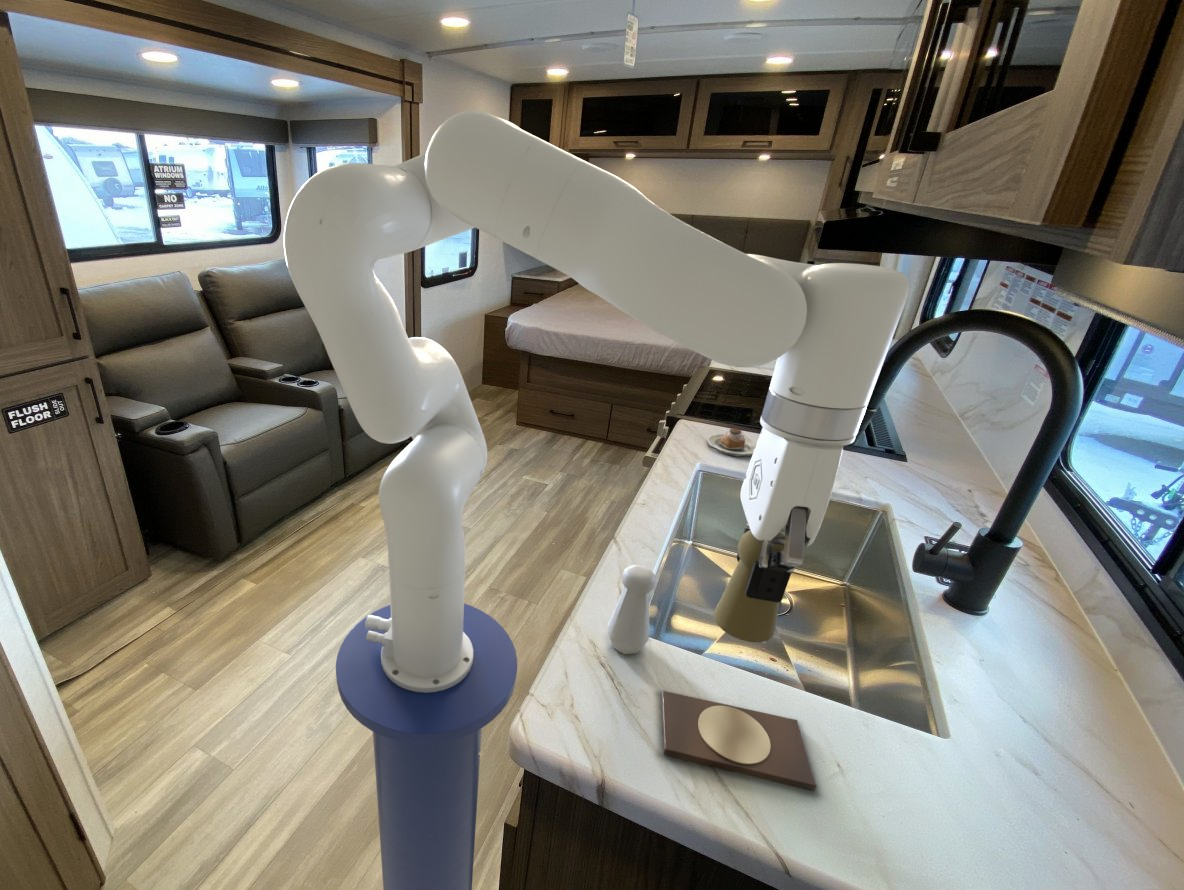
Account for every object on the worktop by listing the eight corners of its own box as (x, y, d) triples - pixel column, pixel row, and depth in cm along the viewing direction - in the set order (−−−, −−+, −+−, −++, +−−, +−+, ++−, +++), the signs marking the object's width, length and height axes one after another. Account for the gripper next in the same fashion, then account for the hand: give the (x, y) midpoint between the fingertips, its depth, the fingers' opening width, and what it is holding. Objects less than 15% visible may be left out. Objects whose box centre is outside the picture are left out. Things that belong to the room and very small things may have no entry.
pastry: (749, 440, 150) (753, 423, 148) (763, 459, 140) (769, 442, 137) (702, 436, 151) (706, 420, 149) (713, 455, 141) (717, 438, 139)
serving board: (663, 754, 67) (665, 748, 66) (660, 695, 74) (662, 688, 74) (814, 791, 63) (817, 784, 63) (795, 725, 71) (798, 718, 70)
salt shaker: (650, 640, 83) (668, 567, 77) (639, 665, 79) (657, 590, 73) (612, 625, 86) (625, 553, 80) (599, 648, 82) (612, 575, 76)
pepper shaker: (733, 645, 58) (762, 556, 53) (702, 605, 63) (725, 521, 58) (787, 639, 59) (820, 551, 54) (752, 601, 64) (779, 518, 59)
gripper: (748, 380, 58) (709, 530, 67) (785, 447, 44) (728, 628, 52) (830, 388, 57) (779, 541, 65) (896, 460, 42) (819, 645, 50)
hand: (757, 578), depth 59 cm, fingers closed on pepper shaker, 5 cm apart
